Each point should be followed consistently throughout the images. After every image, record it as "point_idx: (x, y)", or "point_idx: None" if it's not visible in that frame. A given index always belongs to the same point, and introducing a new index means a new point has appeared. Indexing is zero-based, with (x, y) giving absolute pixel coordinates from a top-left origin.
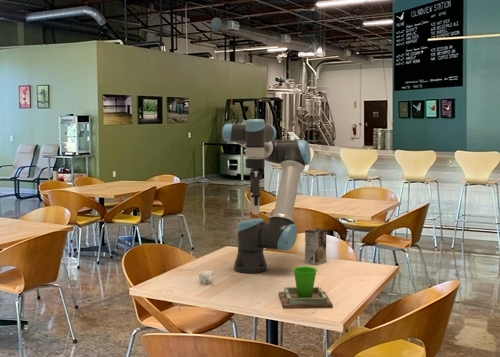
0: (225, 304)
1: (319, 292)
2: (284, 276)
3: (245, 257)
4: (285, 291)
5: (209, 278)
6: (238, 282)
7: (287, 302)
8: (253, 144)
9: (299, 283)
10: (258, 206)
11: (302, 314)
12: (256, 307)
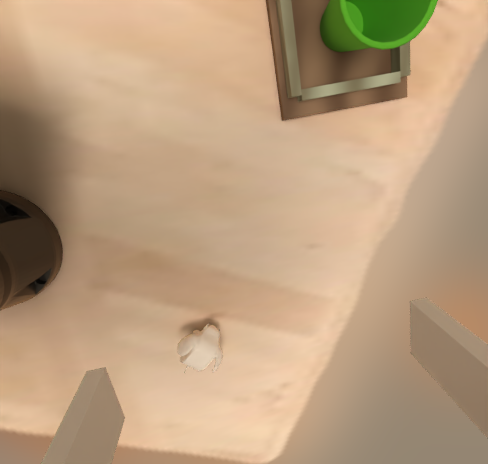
0: (369, 253)
1: None
2: (59, 114)
3: (23, 277)
4: (335, 93)
5: (217, 335)
6: (171, 256)
7: (386, 85)
8: None
9: (391, 31)
10: (482, 348)
11: (450, 37)
12: (392, 173)
